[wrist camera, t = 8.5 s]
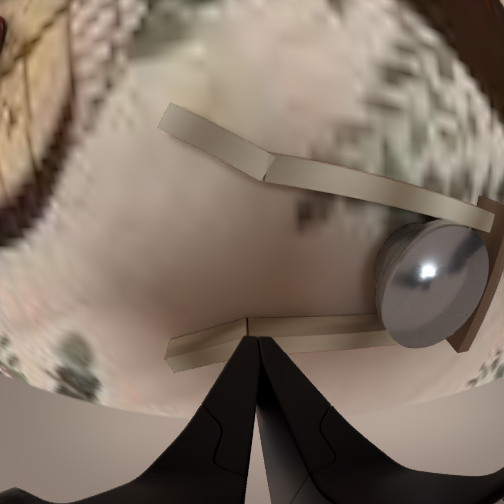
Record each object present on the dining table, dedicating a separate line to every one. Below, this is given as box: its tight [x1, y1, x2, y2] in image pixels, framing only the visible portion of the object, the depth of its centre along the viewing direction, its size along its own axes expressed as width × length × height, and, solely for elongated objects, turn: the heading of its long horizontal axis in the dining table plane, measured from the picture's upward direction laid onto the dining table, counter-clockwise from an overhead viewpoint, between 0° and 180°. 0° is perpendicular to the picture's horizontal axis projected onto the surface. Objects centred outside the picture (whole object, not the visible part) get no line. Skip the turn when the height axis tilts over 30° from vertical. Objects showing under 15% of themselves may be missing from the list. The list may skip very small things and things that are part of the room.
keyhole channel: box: [157, 102, 504, 373], centre depth 14 cm, size 20×14×3 cm
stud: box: [374, 219, 489, 348], centre depth 14 cm, size 7×7×4 cm
